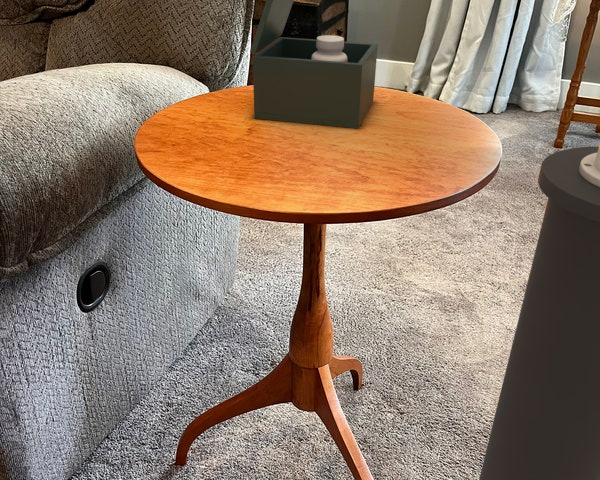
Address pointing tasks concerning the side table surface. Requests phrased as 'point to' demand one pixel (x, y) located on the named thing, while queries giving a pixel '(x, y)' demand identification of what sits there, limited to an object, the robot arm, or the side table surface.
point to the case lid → (271, 23)
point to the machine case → (313, 83)
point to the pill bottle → (330, 49)
